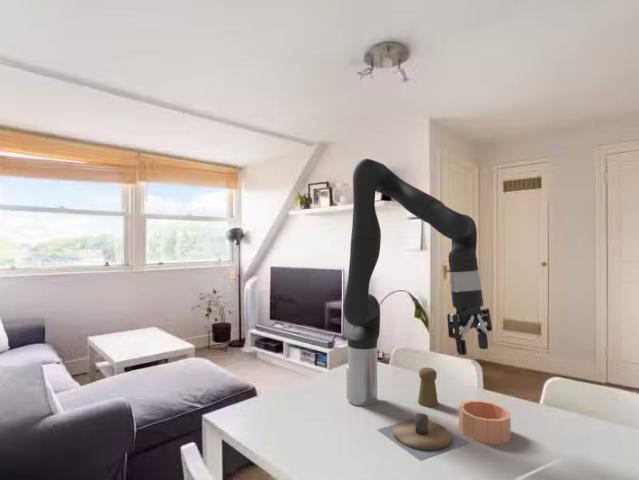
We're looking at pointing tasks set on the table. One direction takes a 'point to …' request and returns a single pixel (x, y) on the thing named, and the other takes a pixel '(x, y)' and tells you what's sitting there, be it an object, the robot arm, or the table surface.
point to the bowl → (485, 422)
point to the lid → (422, 434)
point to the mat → (420, 454)
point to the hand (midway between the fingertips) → (473, 351)
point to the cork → (428, 388)
